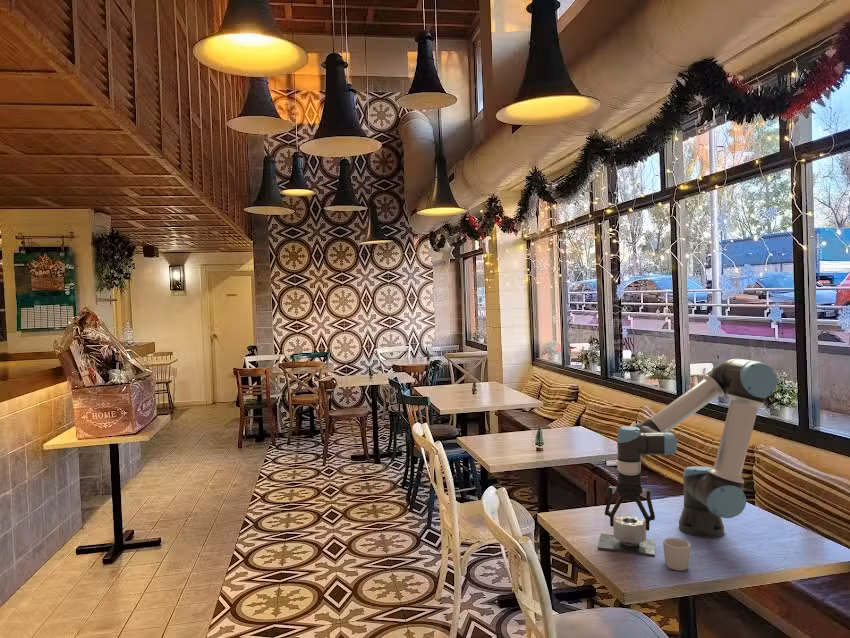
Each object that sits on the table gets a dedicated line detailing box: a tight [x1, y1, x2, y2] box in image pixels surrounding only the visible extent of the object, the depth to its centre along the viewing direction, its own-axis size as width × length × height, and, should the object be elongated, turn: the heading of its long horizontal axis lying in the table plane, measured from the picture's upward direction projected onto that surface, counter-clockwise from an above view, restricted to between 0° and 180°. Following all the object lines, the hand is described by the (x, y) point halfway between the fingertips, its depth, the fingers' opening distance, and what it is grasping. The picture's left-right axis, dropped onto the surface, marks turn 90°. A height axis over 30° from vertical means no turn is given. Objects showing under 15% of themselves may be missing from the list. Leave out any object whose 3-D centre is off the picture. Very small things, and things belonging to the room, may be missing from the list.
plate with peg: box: [597, 521, 656, 558], centre depth 204 cm, size 18×13×8 cm
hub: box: [616, 515, 644, 544], centre depth 204 cm, size 9×9×6 cm
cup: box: [662, 537, 692, 572], centre depth 188 cm, size 11×8×8 cm
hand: (629, 537), depth 204 cm, fingers closed on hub, 9 cm apart
